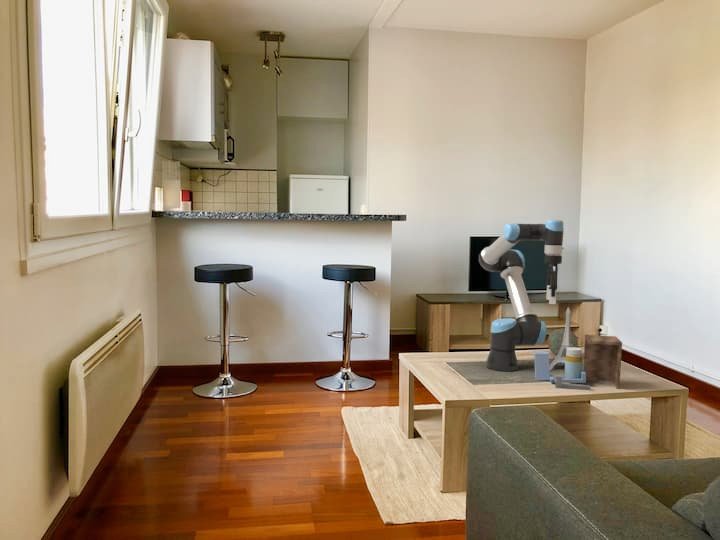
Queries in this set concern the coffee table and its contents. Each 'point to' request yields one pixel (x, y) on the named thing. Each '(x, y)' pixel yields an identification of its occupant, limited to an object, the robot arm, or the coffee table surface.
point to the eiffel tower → (563, 344)
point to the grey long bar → (569, 386)
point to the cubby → (602, 358)
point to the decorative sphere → (559, 340)
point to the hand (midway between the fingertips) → (550, 301)
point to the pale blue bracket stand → (544, 370)
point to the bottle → (573, 363)
